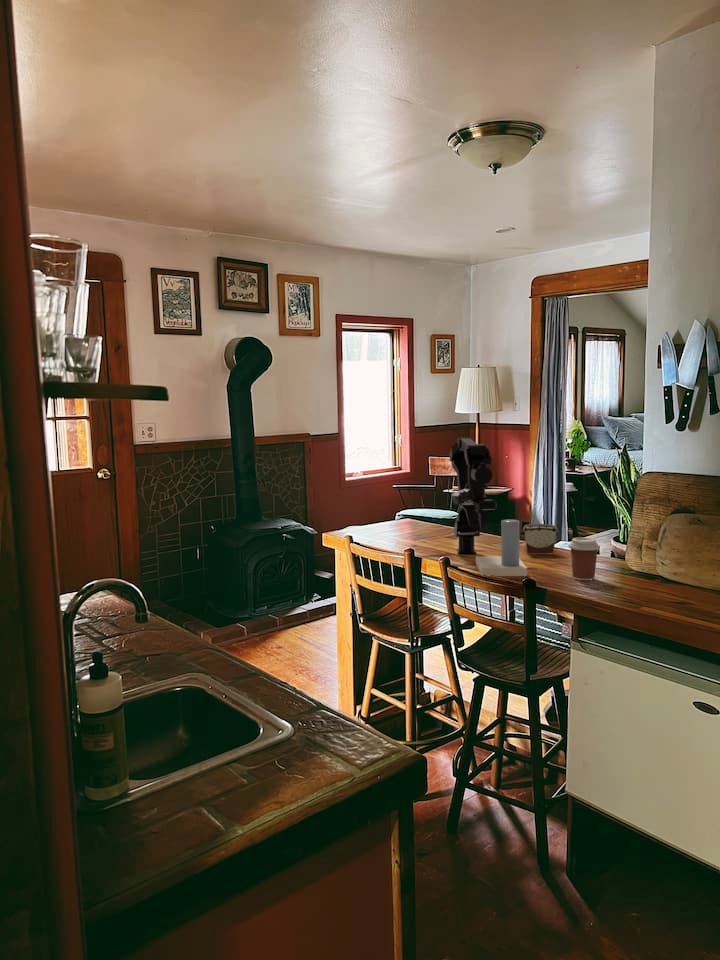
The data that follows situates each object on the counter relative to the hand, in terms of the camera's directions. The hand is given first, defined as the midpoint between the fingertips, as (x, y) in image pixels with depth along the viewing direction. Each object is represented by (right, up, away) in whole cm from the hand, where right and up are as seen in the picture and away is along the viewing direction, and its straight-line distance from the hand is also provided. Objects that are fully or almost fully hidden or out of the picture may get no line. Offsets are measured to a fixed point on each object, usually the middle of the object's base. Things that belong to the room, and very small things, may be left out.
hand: (476, 527), depth 240 cm
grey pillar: (+8, -11, -16) cm, 21 cm away
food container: (+25, -10, +16) cm, 31 cm away
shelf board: (+6, -13, -11) cm, 18 cm away
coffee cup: (+29, -14, -25) cm, 40 cm away
